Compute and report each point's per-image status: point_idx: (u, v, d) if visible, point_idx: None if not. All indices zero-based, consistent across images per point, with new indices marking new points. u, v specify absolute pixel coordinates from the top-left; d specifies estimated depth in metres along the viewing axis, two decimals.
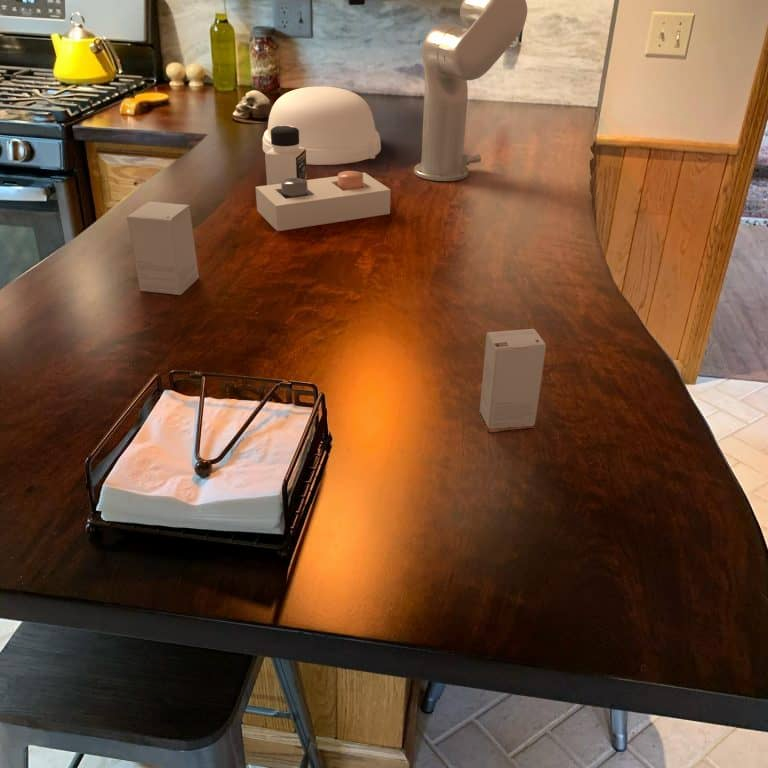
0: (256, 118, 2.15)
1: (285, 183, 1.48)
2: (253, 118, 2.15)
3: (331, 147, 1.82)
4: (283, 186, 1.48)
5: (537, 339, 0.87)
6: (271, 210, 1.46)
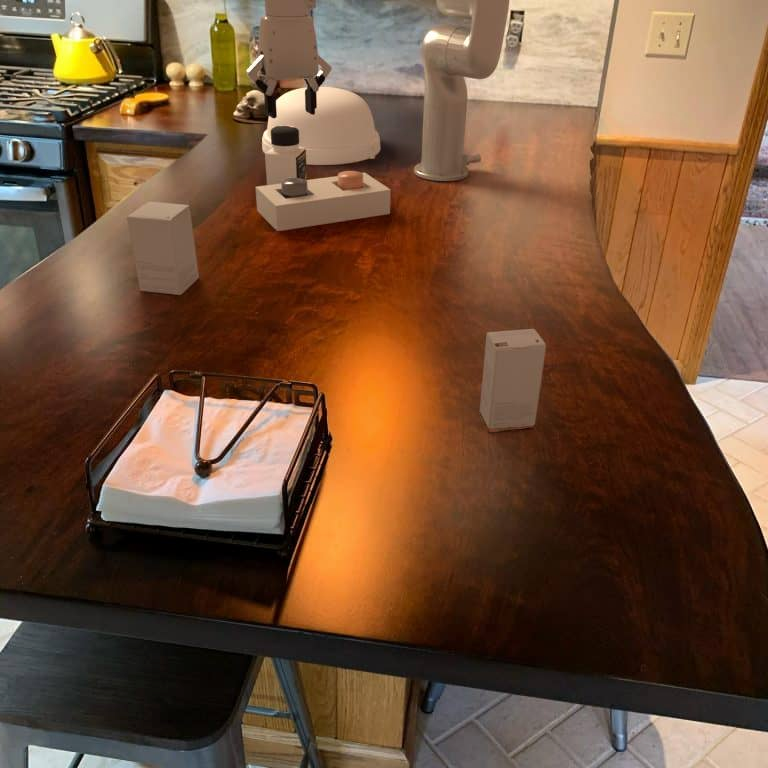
0: (257, 118, 2.15)
1: (285, 183, 1.48)
2: (254, 118, 2.15)
3: (331, 147, 1.82)
4: (283, 186, 1.48)
5: (536, 339, 0.87)
6: (271, 210, 1.46)
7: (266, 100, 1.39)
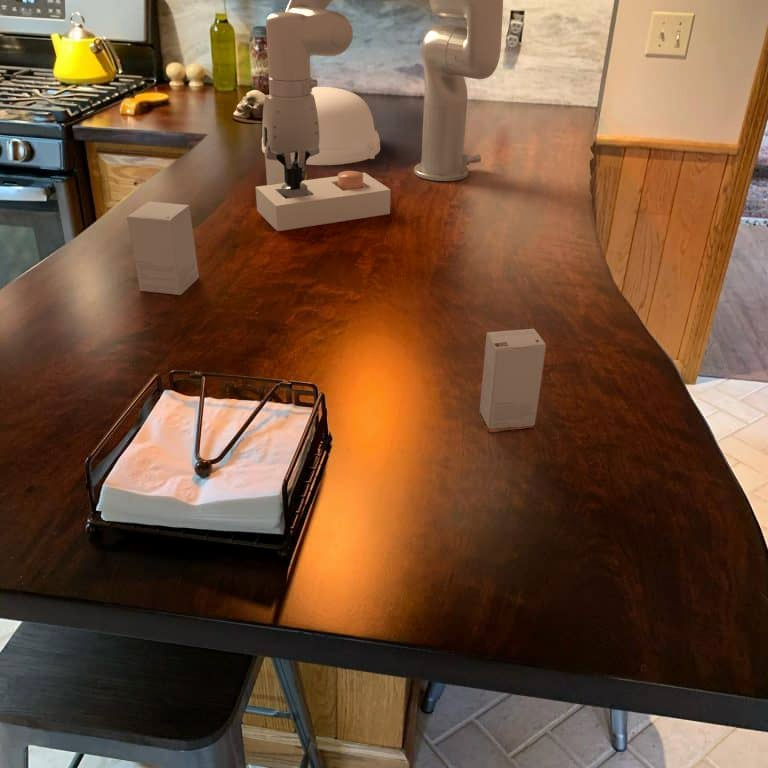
0: (257, 118, 2.15)
1: (286, 187, 1.49)
2: (254, 118, 2.15)
3: (331, 147, 1.82)
4: (283, 191, 1.48)
5: (536, 339, 0.87)
6: (271, 210, 1.46)
7: (286, 172, 1.47)
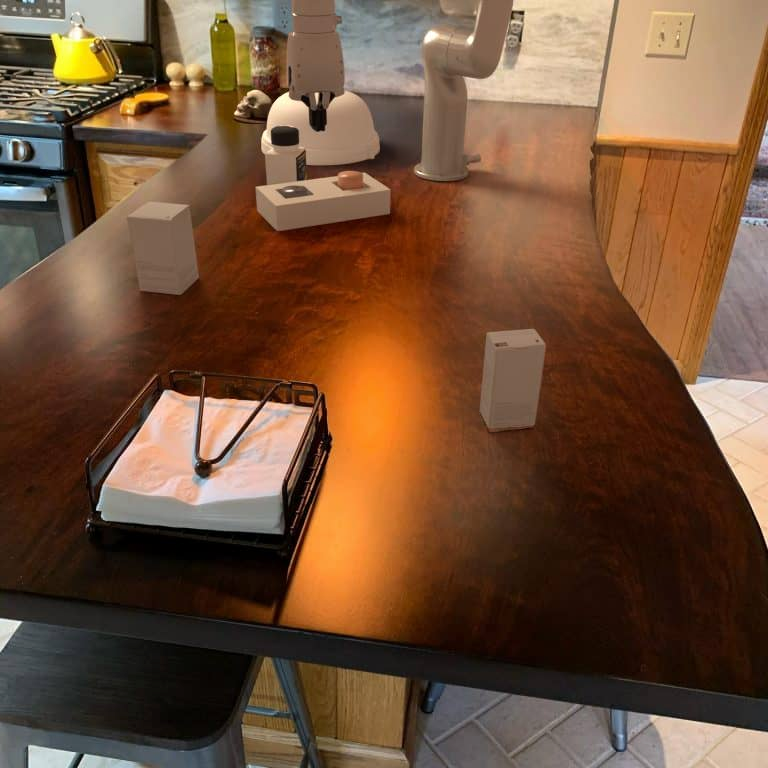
0: (257, 118, 2.16)
1: (286, 190, 1.49)
2: (254, 118, 2.16)
3: (330, 148, 1.82)
4: (283, 194, 1.49)
5: (536, 339, 0.87)
6: (271, 210, 1.46)
7: (310, 114, 1.44)
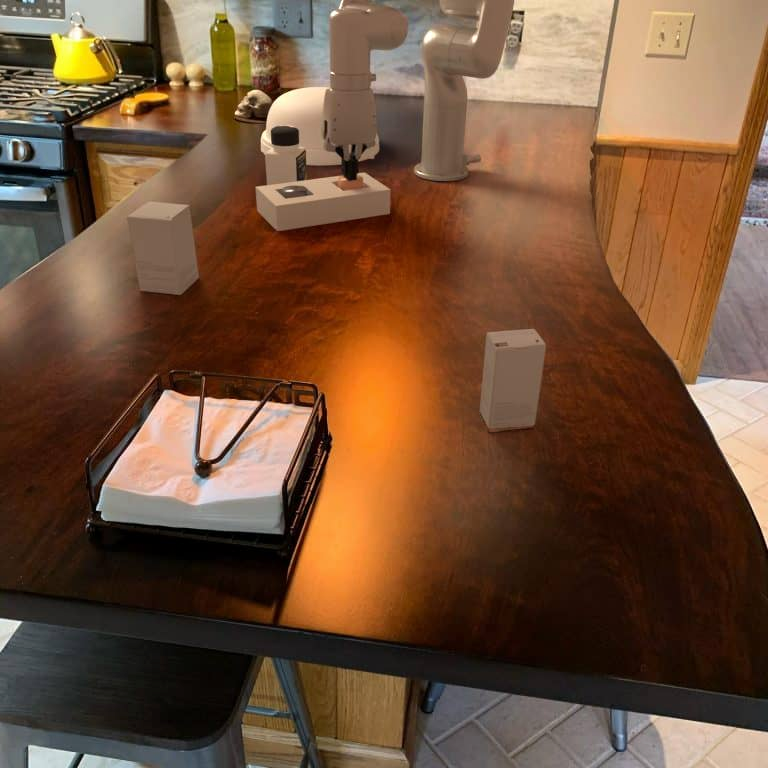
0: (258, 117, 2.16)
1: (286, 190, 1.49)
2: (255, 117, 2.16)
3: None
4: (283, 194, 1.49)
5: (536, 339, 0.87)
6: (271, 210, 1.46)
7: (343, 164, 1.51)
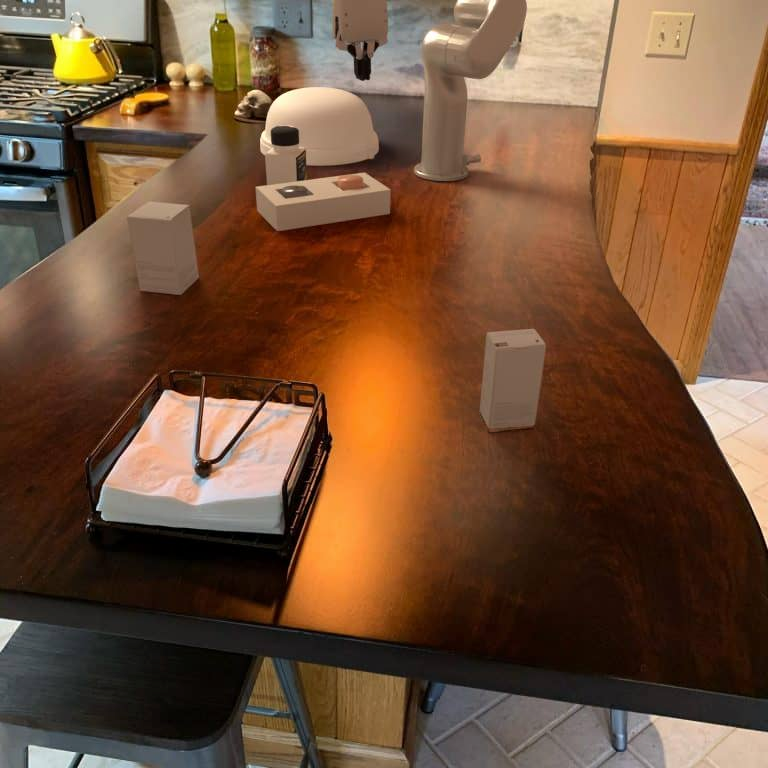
0: (258, 117, 2.16)
1: (286, 190, 1.49)
2: (255, 117, 2.16)
3: (330, 148, 1.81)
4: (283, 194, 1.49)
5: (537, 339, 0.87)
6: (271, 210, 1.46)
7: (356, 64, 1.49)
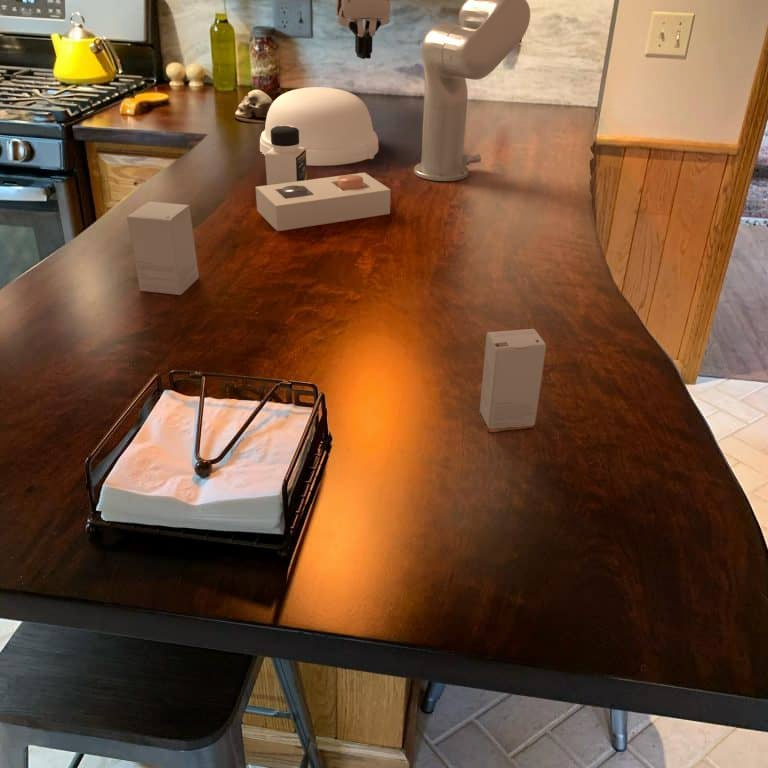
0: (259, 117, 2.16)
1: (286, 190, 1.49)
2: (256, 117, 2.16)
3: (330, 148, 1.81)
4: (283, 194, 1.49)
5: (537, 339, 0.87)
6: (271, 210, 1.46)
7: (357, 41, 1.50)
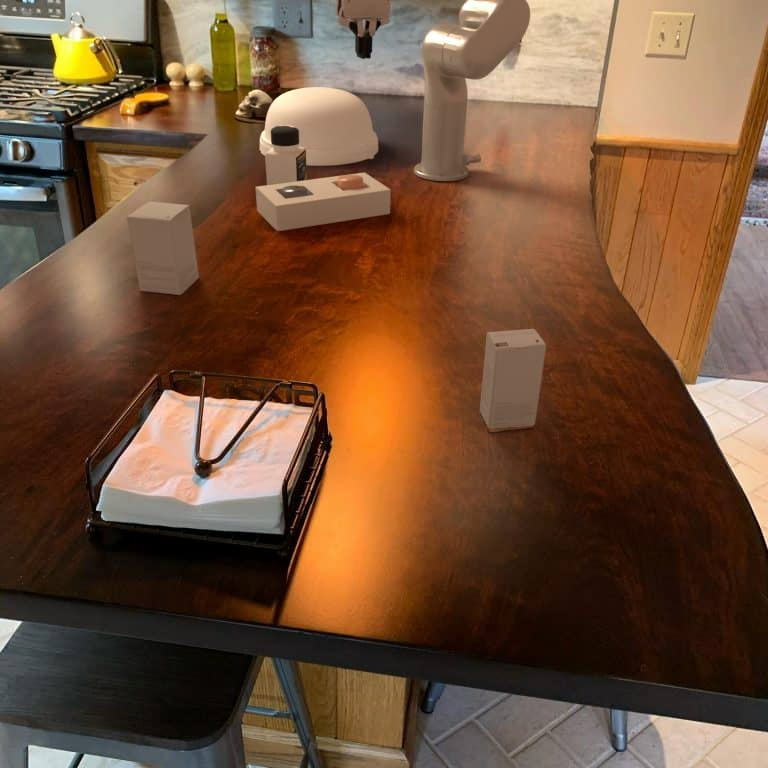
0: (259, 117, 2.16)
1: (286, 190, 1.49)
2: (256, 117, 2.16)
3: (330, 148, 1.81)
4: (283, 194, 1.49)
5: (537, 339, 0.87)
6: (271, 210, 1.46)
7: (357, 41, 1.50)
